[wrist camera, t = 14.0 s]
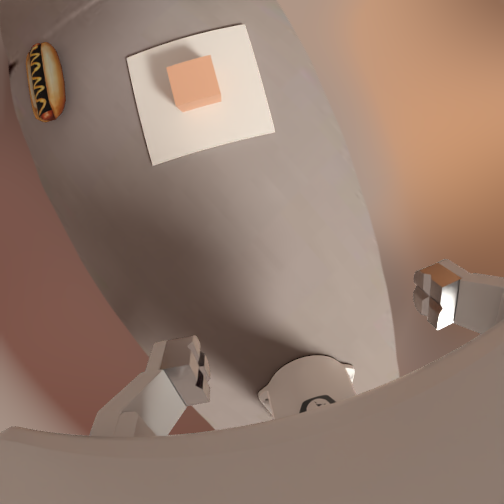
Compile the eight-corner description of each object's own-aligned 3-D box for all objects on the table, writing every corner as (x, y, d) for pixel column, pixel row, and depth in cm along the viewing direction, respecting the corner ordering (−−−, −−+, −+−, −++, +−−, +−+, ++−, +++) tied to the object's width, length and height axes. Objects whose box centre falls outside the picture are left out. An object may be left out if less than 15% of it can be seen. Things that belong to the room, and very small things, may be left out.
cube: (221, 101, 32) (220, 93, 27) (182, 112, 32) (175, 106, 27) (212, 66, 30) (210, 54, 25) (173, 77, 30) (166, 67, 25)
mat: (274, 132, 34) (275, 132, 34) (153, 165, 34) (152, 165, 34) (244, 25, 29) (244, 24, 28) (127, 59, 29) (126, 57, 28)
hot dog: (62, 41, 26) (46, 32, 21) (76, 111, 30) (59, 108, 26) (38, 58, 26) (20, 51, 21) (51, 127, 30) (31, 126, 26)
